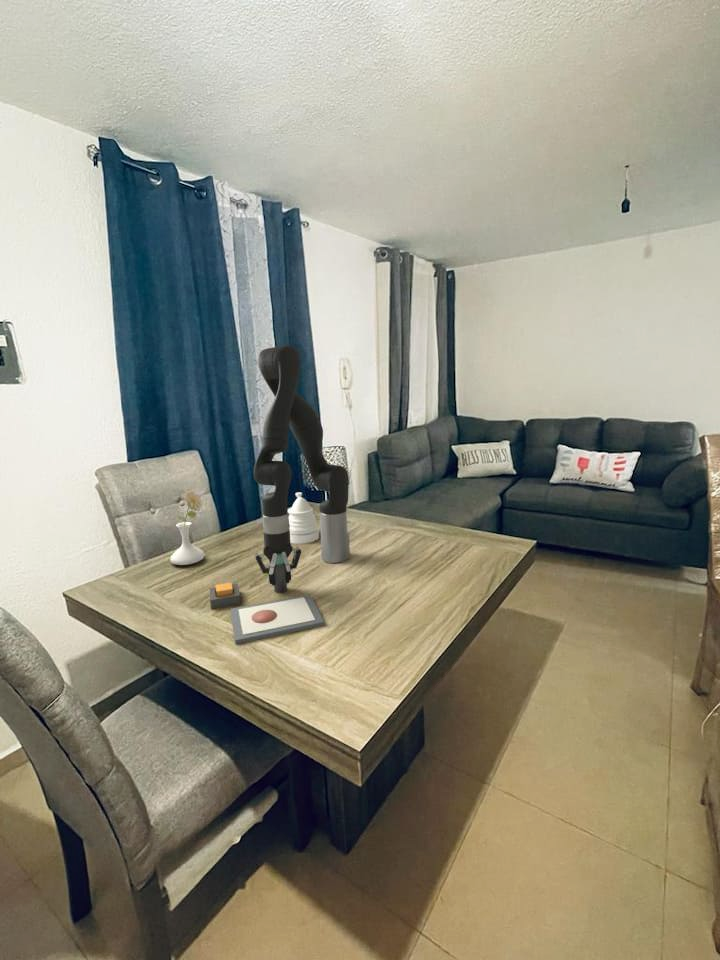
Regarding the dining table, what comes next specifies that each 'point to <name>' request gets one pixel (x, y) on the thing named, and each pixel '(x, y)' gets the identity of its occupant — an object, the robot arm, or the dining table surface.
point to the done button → (224, 589)
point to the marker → (280, 575)
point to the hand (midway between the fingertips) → (280, 583)
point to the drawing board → (275, 618)
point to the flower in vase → (187, 550)
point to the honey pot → (302, 522)
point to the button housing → (225, 597)
